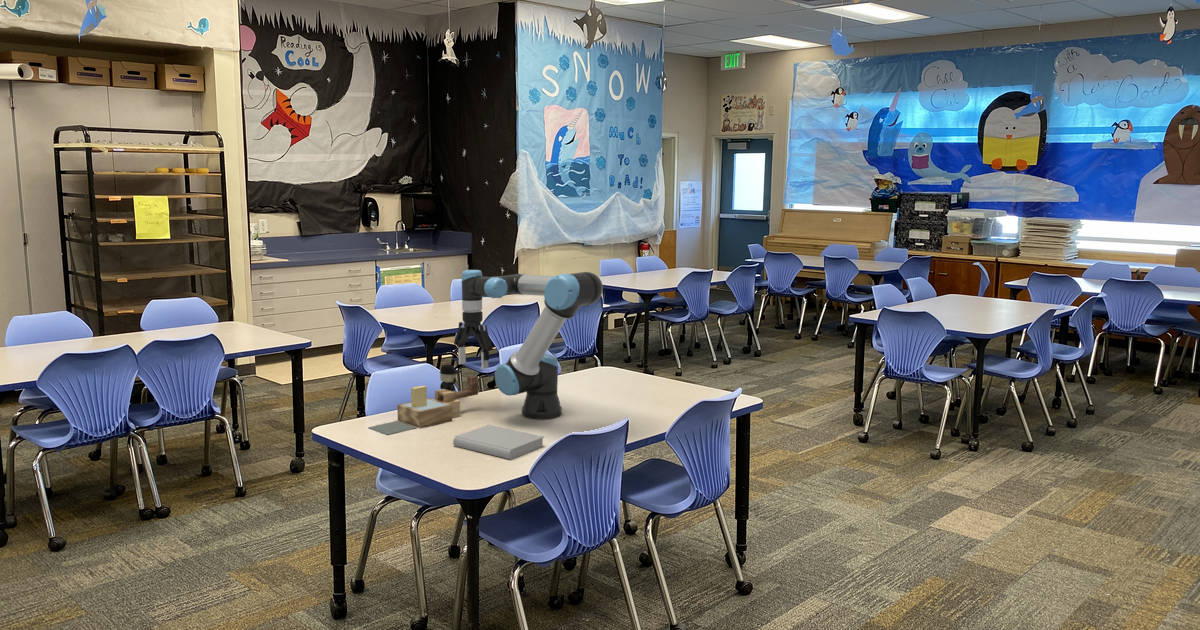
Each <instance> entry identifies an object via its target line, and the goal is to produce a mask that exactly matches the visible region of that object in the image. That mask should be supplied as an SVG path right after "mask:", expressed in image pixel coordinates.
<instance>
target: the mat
mask: <svg viewBox="0 0 1200 630" xmlns="http://www.w3.org/2000/svg"><path fill="white" fill-rule="evenodd" d="M368 429H369V430H372V431H375V432H378V433H381V434H383V435H385V436H390V435H394V434H399V433H402V432H403V433H404V432H406V431H411V430H416V429H417V427H415V426H412V425H409V424H406V423H403V422H400V421H398V420H395V421H391V422H386V423H382V424H377V425H373V426H368Z"/></svg>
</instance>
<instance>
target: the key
mask: <svg viewBox="0 0 1200 630" xmlns="http://www.w3.org/2000/svg"><path fill="white" fill-rule="evenodd" d="M478 395H479V376H477V375H469V376H467V377H466V389H463V390H458V391H456V392H455V399H456V400H459V399H463V398H469V397H472V396H478ZM442 400H443V396H442Z"/></svg>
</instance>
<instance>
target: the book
mask: <svg viewBox="0 0 1200 630" xmlns="http://www.w3.org/2000/svg"><path fill="white" fill-rule="evenodd" d="M543 439H545V436H543V435H538V434H534V433H528V432H525V431H520V430H516V429H511V428H507V427H502V426H498V425H493V424H487V425H483V426H481V427H478V428H475V429H472V430H469V431H466V432H464V433H463V432H462V433H461V434H458V435H455V437H454V438H453V440H452V445H453V446H454V447H457V448H460V449H461V448H462V449H465V450H469V451H473V452H477V453H482V454H486V455H490V456H494V457H499V458H501V459H506V460H510V461H511V460H513V459H516V458H519V457H520V456H521V455H522V456H523V455H524V454H528V453H529V452H532V451H535V450H536V449H539V448H542V447H543V445H544V444H543V443H544V441H543Z"/></svg>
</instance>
